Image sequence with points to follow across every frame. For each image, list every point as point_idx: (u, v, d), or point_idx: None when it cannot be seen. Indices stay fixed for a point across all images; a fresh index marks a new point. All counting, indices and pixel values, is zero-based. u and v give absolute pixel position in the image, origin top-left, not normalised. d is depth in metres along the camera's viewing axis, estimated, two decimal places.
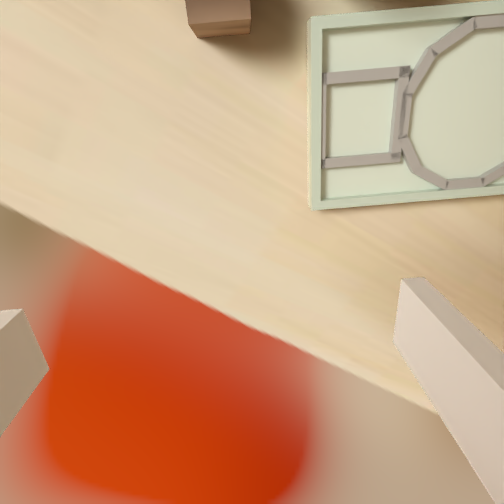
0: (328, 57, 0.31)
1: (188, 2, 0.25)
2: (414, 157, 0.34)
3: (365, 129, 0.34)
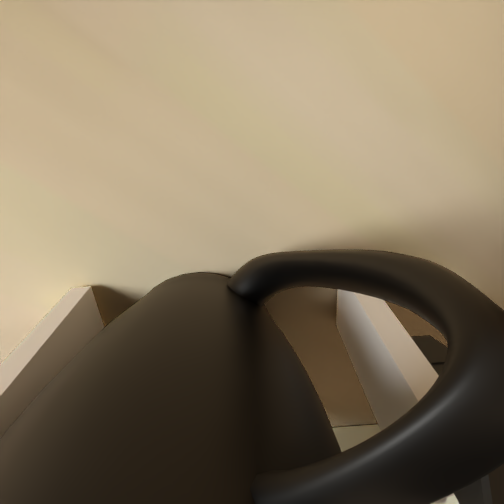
0: None
1: None
2: None
3: None
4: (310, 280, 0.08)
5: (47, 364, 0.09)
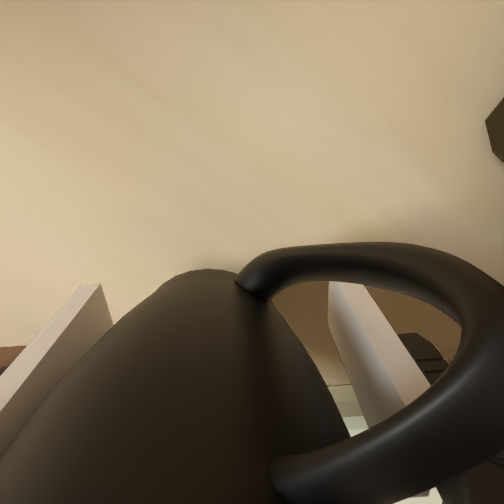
0: None
1: None
2: None
3: None
4: (319, 274, 0.08)
5: (60, 359, 0.09)
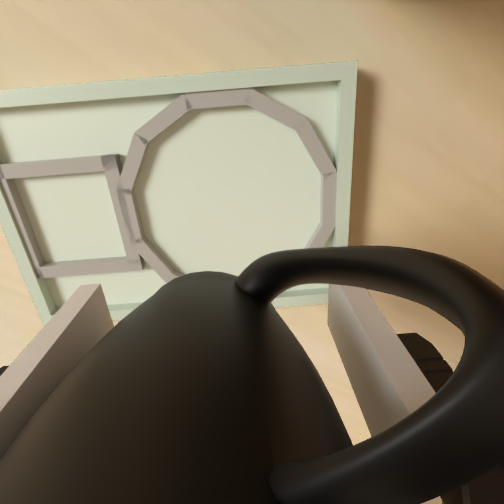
0: (5, 143, 0.23)
1: None
2: (160, 264, 0.26)
3: (89, 229, 0.26)
4: (319, 277, 0.08)
5: (60, 359, 0.09)
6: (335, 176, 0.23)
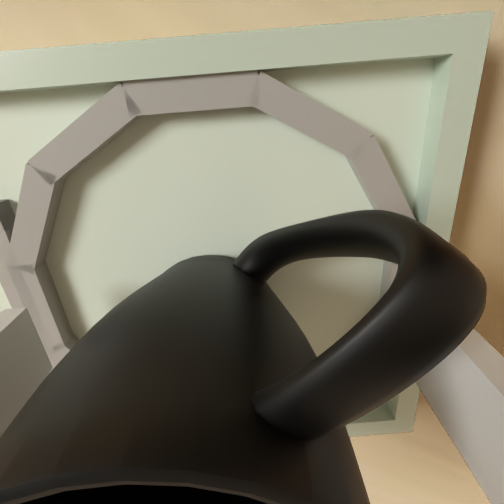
0: None
1: None
2: None
3: None
4: (305, 250, 0.09)
5: None
6: None
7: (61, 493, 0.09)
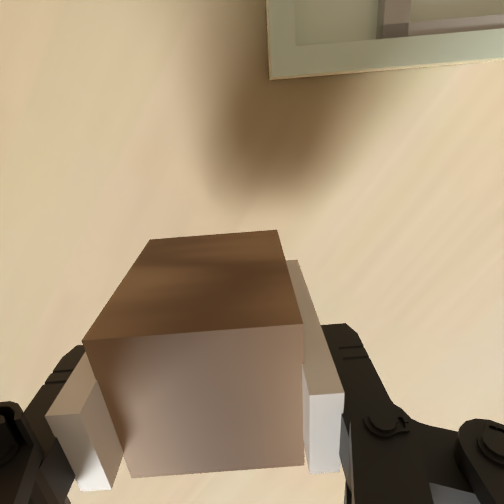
0: (345, 21, 0.13)
1: (255, 464, 0.09)
2: None
3: None
4: None
5: None
6: None
7: None
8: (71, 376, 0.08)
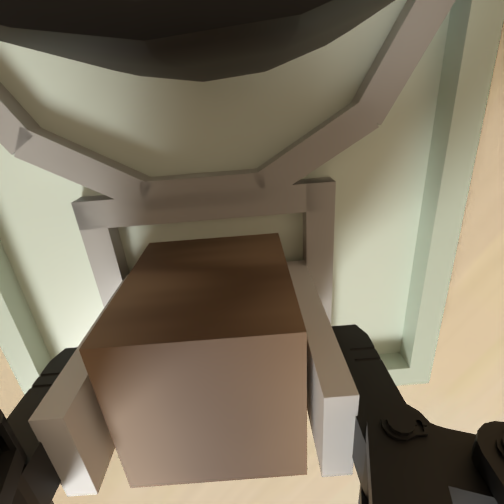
0: None
1: (257, 473, 0.09)
2: (326, 135, 0.10)
3: None
4: None
5: None
6: None
7: None
8: (57, 380, 0.08)
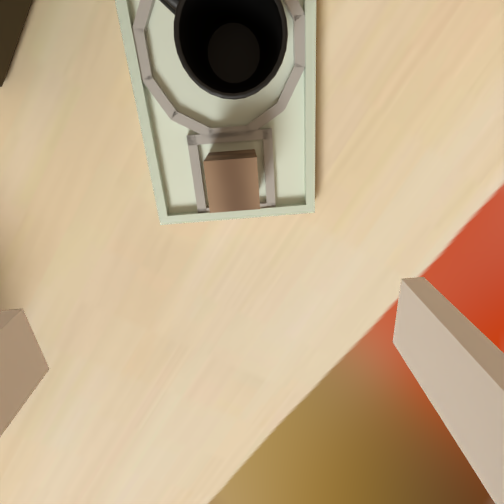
0: (186, 204, 0.38)
1: (245, 208, 0.32)
2: (268, 113, 0.33)
3: None
4: None
5: None
6: None
7: None
8: None
